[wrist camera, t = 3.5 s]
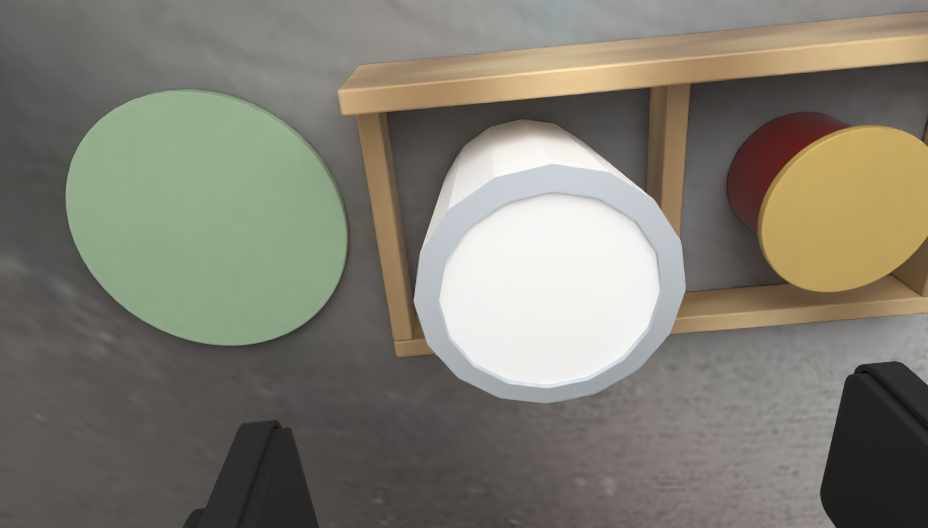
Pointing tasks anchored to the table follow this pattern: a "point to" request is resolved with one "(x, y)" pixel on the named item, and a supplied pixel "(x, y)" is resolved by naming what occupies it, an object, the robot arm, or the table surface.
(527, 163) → the shot glass
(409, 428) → the table surface
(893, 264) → the coffee pod
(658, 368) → the table surface
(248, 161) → the coaster
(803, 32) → the pod caddy
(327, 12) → the table surface
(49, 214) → the table surface
